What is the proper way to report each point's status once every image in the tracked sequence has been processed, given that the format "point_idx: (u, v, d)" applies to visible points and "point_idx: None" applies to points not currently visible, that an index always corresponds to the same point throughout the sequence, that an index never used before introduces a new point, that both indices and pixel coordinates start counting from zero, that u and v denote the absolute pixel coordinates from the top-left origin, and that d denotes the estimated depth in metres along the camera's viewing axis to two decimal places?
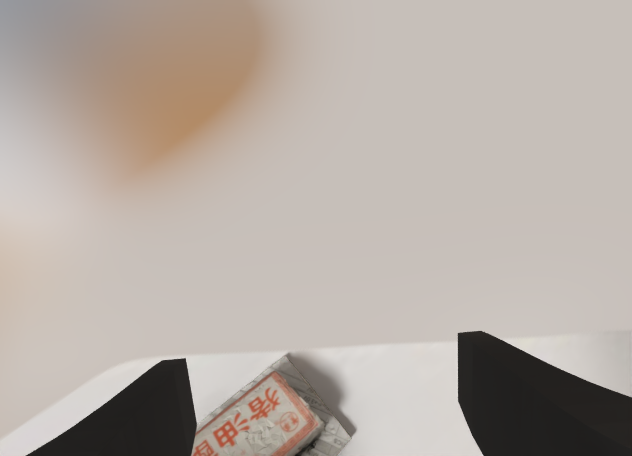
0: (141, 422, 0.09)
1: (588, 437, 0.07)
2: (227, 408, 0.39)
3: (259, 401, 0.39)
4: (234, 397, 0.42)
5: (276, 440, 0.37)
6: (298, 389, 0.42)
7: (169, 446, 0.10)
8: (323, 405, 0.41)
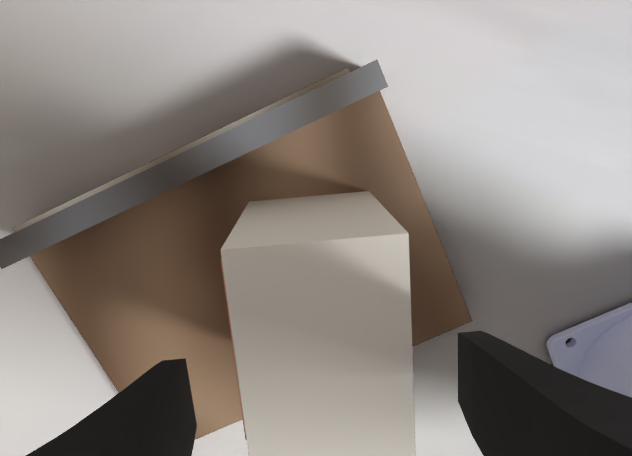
0: (141, 422, 0.09)
1: (588, 437, 0.07)
2: None
3: None
4: None
5: None
6: None
7: (169, 446, 0.10)
8: None
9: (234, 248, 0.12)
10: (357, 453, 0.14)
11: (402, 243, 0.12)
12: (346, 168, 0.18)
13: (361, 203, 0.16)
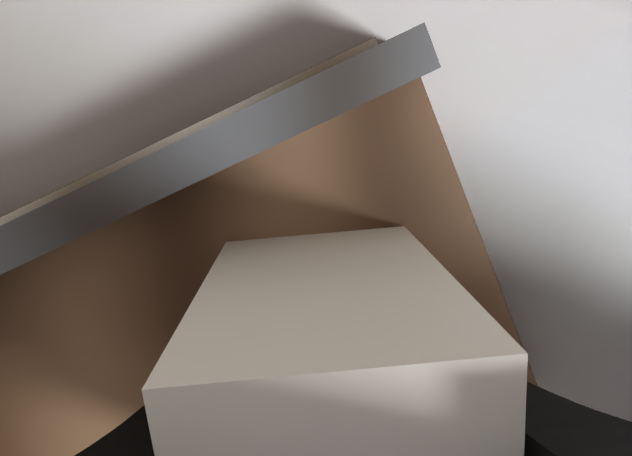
0: None
1: (525, 444, 0.07)
2: None
3: None
4: None
5: None
6: None
7: None
8: None
9: (170, 385, 0.06)
10: None
11: (513, 372, 0.06)
12: (368, 193, 0.12)
13: (400, 254, 0.10)
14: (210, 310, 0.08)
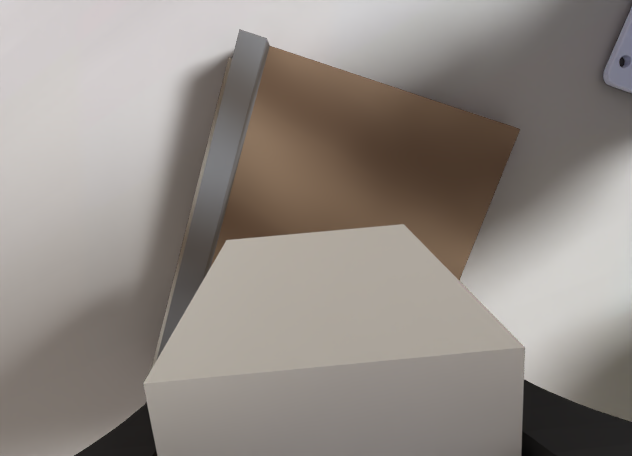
0: None
1: (524, 444, 0.07)
2: None
3: None
4: None
5: None
6: None
7: None
8: None
9: (172, 379, 0.06)
10: None
11: (511, 366, 0.06)
12: (307, 123, 0.19)
13: (400, 251, 0.10)
14: (211, 306, 0.08)
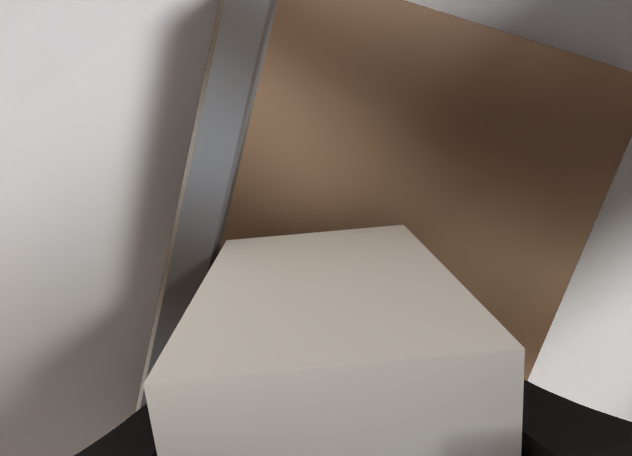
0: None
1: (524, 444, 0.07)
2: None
3: None
4: None
5: None
6: None
7: None
8: None
9: (172, 380, 0.06)
10: None
11: (511, 367, 0.06)
12: (344, 80, 0.13)
13: (400, 252, 0.10)
14: (211, 307, 0.08)
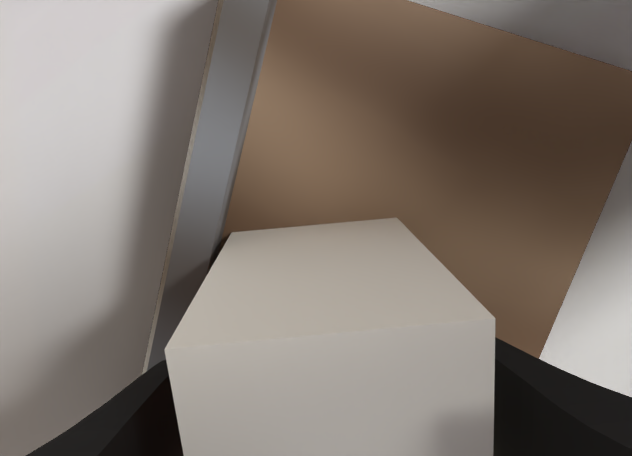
0: (141, 422, 0.09)
1: (588, 437, 0.07)
2: None
3: None
4: None
5: None
6: None
7: (169, 446, 0.10)
8: None
9: (189, 346, 0.07)
10: None
11: (483, 335, 0.07)
12: (344, 80, 0.13)
13: (392, 241, 0.11)
14: (220, 288, 0.09)
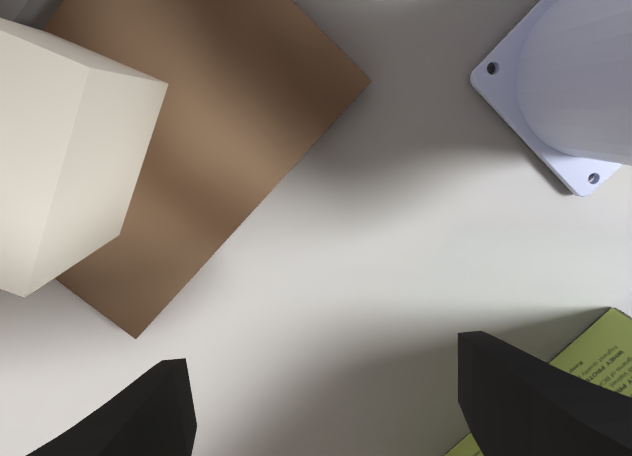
0: (141, 422, 0.09)
1: (588, 438, 0.07)
2: None
3: None
4: None
5: None
6: None
7: (169, 446, 0.10)
8: None
9: None
10: None
11: (80, 75, 0.12)
12: None
13: (130, 71, 0.16)
14: None
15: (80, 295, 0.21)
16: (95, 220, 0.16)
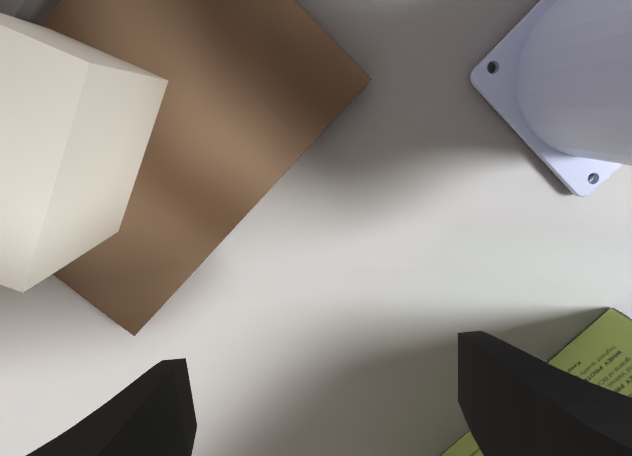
0: (141, 422, 0.09)
1: (588, 437, 0.07)
2: None
3: None
4: None
5: None
6: None
7: (169, 446, 0.10)
8: None
9: None
10: None
11: (80, 70, 0.12)
12: None
13: (130, 67, 0.16)
14: None
15: (79, 291, 0.21)
16: (93, 216, 0.16)
